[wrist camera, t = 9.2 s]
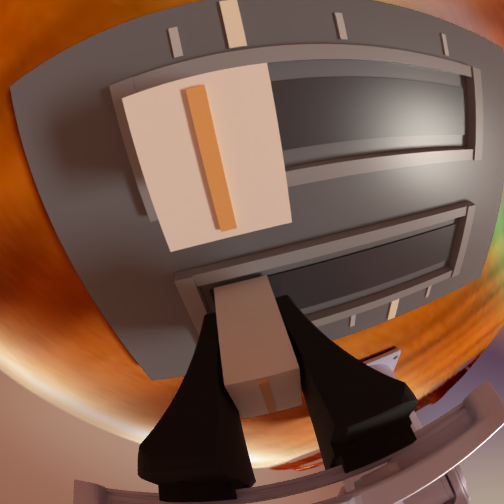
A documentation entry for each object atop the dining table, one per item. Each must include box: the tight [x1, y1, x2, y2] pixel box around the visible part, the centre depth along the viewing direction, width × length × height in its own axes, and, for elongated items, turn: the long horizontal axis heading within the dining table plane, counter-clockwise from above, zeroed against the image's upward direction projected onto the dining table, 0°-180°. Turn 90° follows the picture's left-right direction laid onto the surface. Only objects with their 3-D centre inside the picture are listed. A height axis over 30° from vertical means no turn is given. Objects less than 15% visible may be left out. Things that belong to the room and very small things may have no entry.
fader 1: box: [122, 63, 292, 252], centre depth 6 cm, size 3×2×5 cm
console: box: [10, 0, 504, 380], centre depth 11 cm, size 18×26×2 cm
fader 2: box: [214, 275, 302, 419], centre depth 11 cm, size 3×2×5 cm
